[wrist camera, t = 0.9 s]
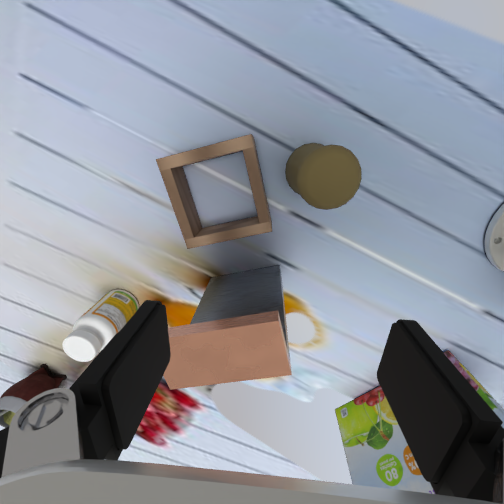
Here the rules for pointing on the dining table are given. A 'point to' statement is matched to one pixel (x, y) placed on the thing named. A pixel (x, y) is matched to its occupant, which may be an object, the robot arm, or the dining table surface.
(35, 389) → the mate gourd
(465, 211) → the dining table surface
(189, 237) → the socket block
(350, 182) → the cork
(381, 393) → the snack box
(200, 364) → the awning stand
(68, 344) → the supplement bottle
